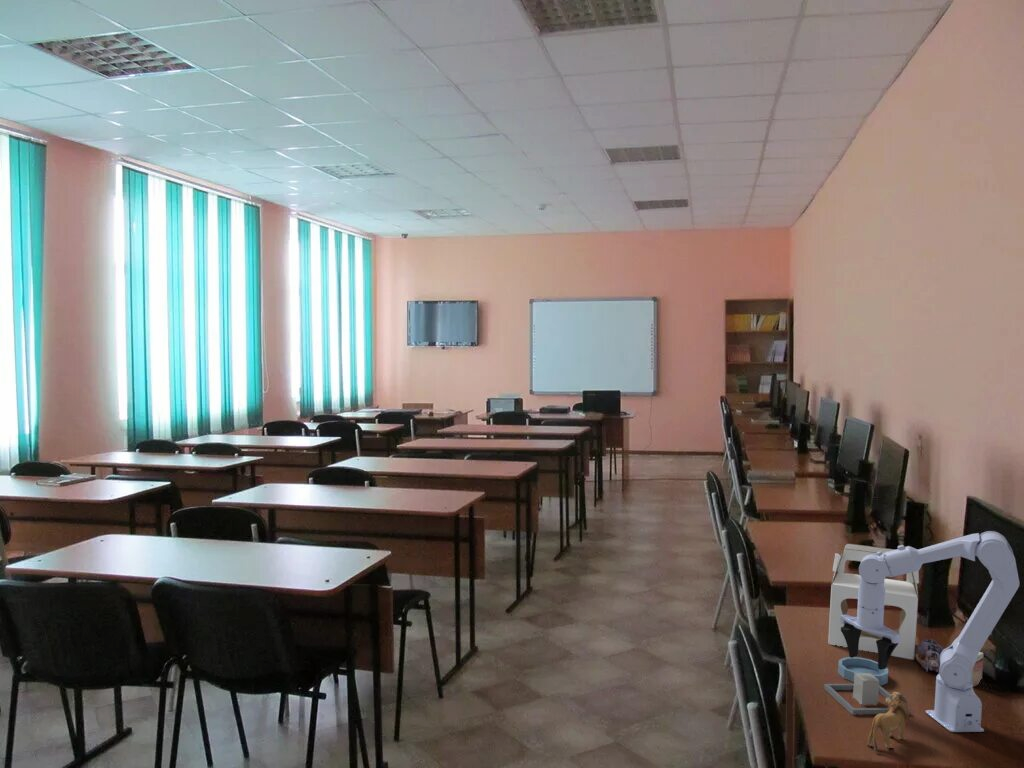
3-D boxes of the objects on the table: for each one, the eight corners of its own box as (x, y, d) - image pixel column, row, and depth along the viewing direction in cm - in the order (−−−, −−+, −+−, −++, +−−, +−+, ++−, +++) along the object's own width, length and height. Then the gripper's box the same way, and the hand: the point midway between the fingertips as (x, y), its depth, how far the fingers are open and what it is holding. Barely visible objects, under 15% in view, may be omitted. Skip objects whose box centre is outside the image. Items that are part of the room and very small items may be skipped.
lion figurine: (885, 725, 176) (888, 686, 176) (911, 734, 173) (913, 693, 172) (862, 749, 166) (865, 707, 165) (889, 758, 162) (892, 716, 162)
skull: (946, 678, 203) (947, 655, 203) (912, 671, 207) (914, 648, 206) (946, 662, 213) (948, 640, 213) (914, 656, 217) (916, 634, 217)
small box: (973, 687, 198) (975, 656, 197) (955, 681, 201) (957, 650, 201) (982, 682, 201) (984, 652, 200) (964, 676, 204) (966, 646, 204)
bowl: (897, 685, 197) (897, 675, 197) (852, 685, 196) (853, 676, 196) (872, 666, 209) (872, 657, 209) (829, 666, 208) (830, 657, 208)
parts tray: (909, 714, 182) (909, 709, 182) (852, 715, 181) (852, 709, 181) (877, 688, 196) (877, 683, 195) (824, 688, 194) (824, 683, 194)
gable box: (827, 644, 224) (832, 546, 222) (830, 629, 236) (835, 536, 234) (915, 660, 214) (921, 558, 212) (914, 644, 226) (920, 547, 224)
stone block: (877, 705, 186) (879, 680, 186) (861, 705, 186) (863, 680, 186) (868, 697, 190) (870, 673, 190) (852, 697, 190) (854, 673, 190)
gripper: (909, 613, 183) (906, 670, 184) (854, 594, 195) (851, 648, 196) (891, 618, 179) (887, 676, 180) (835, 599, 191) (832, 653, 192)
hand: (867, 662), depth 188 cm, fingers open, 7 cm apart
